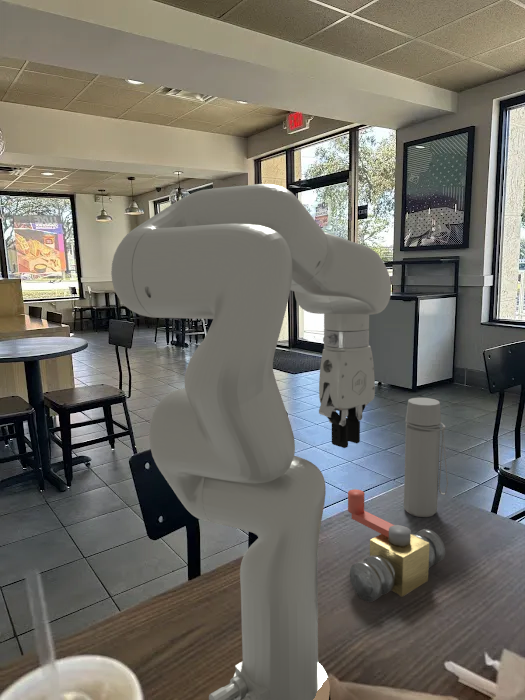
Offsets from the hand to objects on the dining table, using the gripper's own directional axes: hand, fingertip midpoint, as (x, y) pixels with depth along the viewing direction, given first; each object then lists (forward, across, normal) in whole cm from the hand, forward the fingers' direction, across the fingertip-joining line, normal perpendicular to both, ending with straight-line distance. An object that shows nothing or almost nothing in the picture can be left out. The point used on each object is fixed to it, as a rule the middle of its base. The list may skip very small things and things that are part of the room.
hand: (345, 442), depth 89 cm
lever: (+16, +4, -4) cm, 17 cm away
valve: (+23, +3, -9) cm, 25 cm away
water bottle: (+23, +28, +1) cm, 37 cm away
